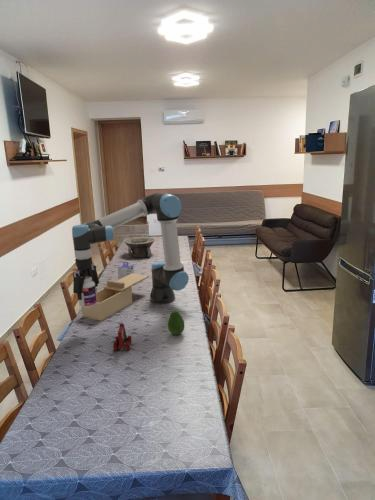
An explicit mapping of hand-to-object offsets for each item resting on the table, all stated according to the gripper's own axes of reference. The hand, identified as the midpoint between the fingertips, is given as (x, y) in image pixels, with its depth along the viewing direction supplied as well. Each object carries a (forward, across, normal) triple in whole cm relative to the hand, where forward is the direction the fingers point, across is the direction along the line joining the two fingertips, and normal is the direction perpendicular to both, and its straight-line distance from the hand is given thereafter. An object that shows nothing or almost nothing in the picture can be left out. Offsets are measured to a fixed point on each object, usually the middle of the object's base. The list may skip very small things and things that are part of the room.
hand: (88, 302), depth 179 cm
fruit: (+16, -14, +41) cm, 46 cm away
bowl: (+17, -130, -60) cm, 144 cm away
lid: (+6, -43, -9) cm, 44 cm away
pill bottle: (+2, 0, 0) cm, 2 cm away
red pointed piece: (+15, +7, +25) cm, 30 cm away
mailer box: (+15, -24, -9) cm, 30 cm away
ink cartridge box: (+16, -66, -27) cm, 74 cm away
